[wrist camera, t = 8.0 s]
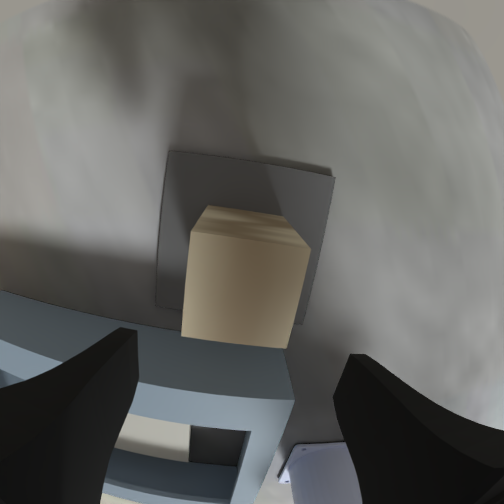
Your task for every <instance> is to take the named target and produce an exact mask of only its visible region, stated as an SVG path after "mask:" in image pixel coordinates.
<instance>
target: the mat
mask: <svg viewBox="0 0 504 504" xmlns="http://www.w3.org/2000/svg"><path fill="white" fill-rule="evenodd" d="M334 183H335V177H332V176H328V175H323V174H318V173H313V172H308V171H303V170H298V169H293V168H288V167H282V166H277V165H271V164H265V163H259V162H253V161H247V160H240V159H233V158H226V157H219V156H211V155H203V154H195V153H186V152H177V151H169V156H168V163H167V170H166V178H165V186H164V195H163V204H162V213H161V224H160V235H159V248H158V263H157V281H156V306H159V307H165V308H171V309H177V310H183V306H184V294H185V283H186V272H187V262H188V253H189V244H190V235H191V230H192V229H193V227H194V226H195V224H196V223H197V221H198V219H199V218H200V216H201V215H202V213H203V212H204V210H205V209H206V207H207V206H208V205H212V206H219V207H226V208H233V209H239V210H246V211H252V212H259V213H265V214H271V215H277V216H283V217H284V218H285V219H286V220H287V221H288V223H289V224H290V225H291V226H292V227H293V228H294V230H295V231H296V232H297V233H298V234H299V235H300V237H301V238H302V239H303V240H304V241H305V242H306V244H307V245H308V246H309V247H310V248H311V252H310V257H309V261H308V265H307V270H306V274H305V278H304V282H303V287H302V291H301V295H300V299H299V303H298V307H297V311H296V315H295V319H294V323H293V324H301V325H302V324H303V320H304V316H305V313H306V309H307V305H308V301H309V297H310V293H311V289H312V285H313V281H314V277H315V273H316V268H317V264H318V260H319V255H320V251H321V246H322V242H323V237H324V233H325V228H326V223H327V219H328V214H329V209H330V204H331V199H332V193H333V188H334Z"/></svg>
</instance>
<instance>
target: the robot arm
mask: <svg viewBox="0 0 504 504" xmlns="http://www.w3.org/2000/svg"><path fill="white" fill-rule="evenodd" d="M138 381H139V361H138V330H133V329H128V328H123V327H119V328H118V329H116V330H114V331H113V332H111V333H110V334H108V335H107V336H105V337H104V338H102V339H101V340H99V341H98V342H96V343H95V344H93V345H92V346H90V347H89V348H87V349H86V350H84V351H82V352H81V353H79V354H78V355H76V356H74V357H72V358H70V359H69V360H67V361H65V362H63V363H62V364H60V365H58V366H56V367H54V368H52V369H50V370H48V371H46V372H44V373H42V374H39V375H37V376H35V377H32V378H30V379H27V380H25V381H22V382H19V383H15V384H12V385H9V386H6V387H3V388H0V504H100V500H101V495H102V490H103V485H104V480H105V476H106V472H107V468H108V464H109V460H110V457H111V454H112V451H113V448H114V446H115V443H116V441H117V439H118V436H119V434H120V431H121V429H122V426H123V424H124V422H125V419H126V417H127V414H128V412H129V410H130V407H131V405H132V402H133V399H134V395H135V392H136V388H137V384H138ZM333 400H334V406H335V411H336V415H337V420H338V423H339V426H340V429H341V431H342V434H343V437H344V440H345V442H338V443H323V444H299V445H296V446H294V448H293V450H292V452H291V454H290V456H289V459H288V461H287V463H286V465H285V467H284V469H283V471H282V473H281V475H280V477H279V479H278V482H279V483H291V488H292V494H293V500H294V504H504V431H503V430H499V429H495V428H491V427H488V426H485V425H482V424H479V423H476V422H474V421H471V420H469V419H466V418H464V417H461V416H459V415H457V414H455V413H453V412H451V411H449V410H447V409H445V408H443V407H441V406H440V405H438V404H436V403H434V402H433V401H431V400H430V399H428V398H427V397H425V396H423V395H422V394H420V393H419V392H417V391H416V390H414V389H413V388H412V387H410V386H409V385H407V384H406V383H405V382H403V381H402V380H401V379H399V378H398V377H397V376H395V375H394V374H393V373H391V372H390V371H389V370H387V369H386V368H385V367H383V366H382V365H380V364H379V363H378V362H376V361H375V360H373V359H372V358H370V357H369V356H367V355H366V354H350V356H349V358H348V361H347V363H346V366H345V368H344V371H343V373H342V376H341V378H340V381H339V383H338V385H337V388H336V390H335V393H334V395H333Z"/></svg>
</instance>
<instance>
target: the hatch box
mask: <svg viewBox="0 0 504 504" xmlns="http://www.w3.org/2000/svg"><path fill="white" fill-rule="evenodd" d="M119 327H123V328H128V329H133V330H138V361H139V381H138V384H137V388H136V392H135V395H134V399H133V402H132V405H131V407H130V410H129V412H128V414H127V417H126V419H125V422H124V424H123V426H122V429H121V431H120V434H119V436H118V439H117V441H116V443H115V446H114V448H113V451H112V454H111V457H110V460H109V464H108V468H107V472H106V476H105V480H104V485H103V490H102V493H105V494H109V495H112V496H116V497H119V498H123V499H127V500H131V501H135V502H139V503H144V504H253V503H254V501H255V498H256V496H257V494H258V492H259V490H260V487H261V485H262V483H263V481H264V478H265V476H266V474H267V471H268V469H269V467H270V464H271V462H272V460H273V457H274V455H275V452H276V450H277V447H278V445H279V442H280V440H281V437H282V435H283V432H284V429H285V427H286V424H287V422H288V419H289V416H290V414H291V411H292V408H293V405H294V403H295V397H294V393H293V389H292V385H291V380H290V376H289V372H288V368H287V364H286V360H285V356H284V352H283V348H272V347H262V346H252V345H243V344H234V343H226V342H218V341H211V340H204V339H197V338H190V337H184V336H181V333H182V332H181V331H175V330H169V329H163V328H157V327H151V326H146V325H141V324H135V323H130V322H125V321H120V320H115V319H110V318H106V317H101V316H97V315H92V314H88V313H83V312H79V311H75V310H71V309H67V308H63V307H59V306H55V305H51V304H48V303H44V302H40V301H37V300H33V299H30V298H26V297H23V296H19V295H16V294H13V293H10V292H6V291H3V290H1V291H0V388H3V387H6V386H9V385H12V384H15V383H19V382H22V381H25V380H27V379H30V378H32V377H35V376H37V375H39V374H42V373H44V372H46V371H48V370H50V369H52V368H54V367H56V366H58V365H60V364H62V363H63V362H65V361H67V360H69V359H70V358H72V357H74V356H76V355H78V354H79V353H81V352H82V351H84V350H86V349H87V348H89V347H90V346H92V345H93V344H95V343H96V342H98V341H99V340H101V339H102V338H104V337H105V336H107V335H108V334H110V333H111V332H113V331H114V330H116V329H118V328H119ZM191 425H195V426H202V427H211V428H220V429H231V430H244V431H246V434H245V438H244V442H243V446H242V450H241V453H240V457H239V461H238V465H237V467H236V466H222V465H212V464H202V463H194V462H188V461H189V452H190V439H191Z"/></svg>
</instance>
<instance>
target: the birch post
mask: <svg viewBox="0 0 504 504" xmlns="http://www.w3.org/2000/svg"><path fill="white" fill-rule="evenodd" d="M310 252H311V248H310V247H309V246H308V245H307V244H306V242H305V241H304V240H303V239H302V238H301V237H300V235H299V234H298V233H297V232H296V231H295V230H294V228H293V227H292V226H291V225H290V224H289V223H288V221H287V220H286V219H285V218H284V217H283V216H277V215H271V214H265V213H259V212H252V211H246V210H239V209H233V208H226V207H219V206H212V205H208V206H207V207H206V209H205V210H204V212H203V213H202V215H201V216H200V218H199V219H198V221H197V223H196V224H195V226H194V227H193V229H192V230H191V235H190V244H189V253H188V262H187V272H186V283H185V294H184V306H183V319H182V333H181V336H184V337H190V338H197V339H204V340H211V341H218V342H226V343H234V344H243V345H252V346H262V347H272V348H284V349H287V345H288V342H289V338H290V334H291V330H292V326H293V323H294V319H295V315H296V311H297V307H298V303H299V299H300V295H301V291H302V287H303V282H304V278H305V274H306V270H307V265H308V261H309V257H310Z"/></svg>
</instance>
